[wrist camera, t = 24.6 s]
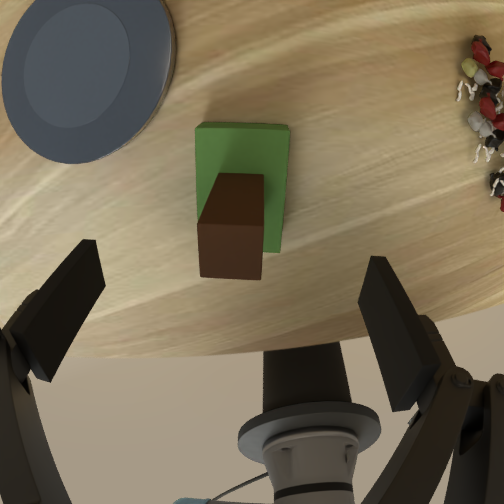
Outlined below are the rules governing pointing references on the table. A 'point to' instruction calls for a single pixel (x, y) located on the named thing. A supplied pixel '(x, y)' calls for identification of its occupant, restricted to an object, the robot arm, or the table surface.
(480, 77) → the dark lumpy cluster
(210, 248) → the sponge brush
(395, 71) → the table surface
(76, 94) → the plate
